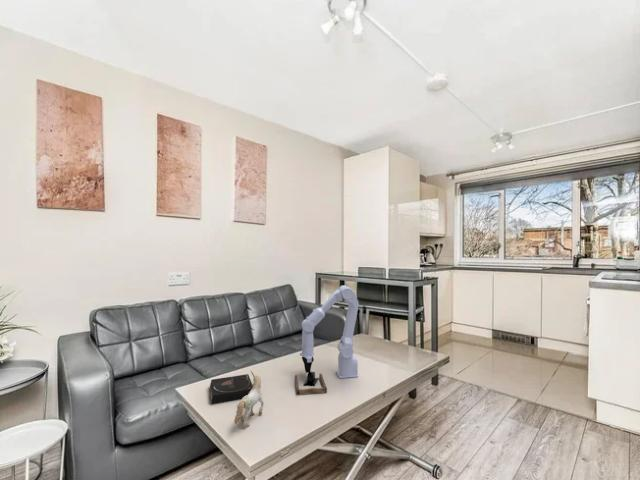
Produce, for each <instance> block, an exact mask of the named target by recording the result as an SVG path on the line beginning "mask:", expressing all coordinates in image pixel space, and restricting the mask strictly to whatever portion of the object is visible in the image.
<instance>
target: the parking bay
mask: <svg viewBox="0 0 640 480" xmlns="http://www.w3.org/2000/svg"><path fill="white" fill-rule="evenodd" d="M318 378H319V381H320V384H321V387H312V388H311V387H309V388H300V385H299V381H298V380H299V379H298V375H297V374H295V375H294V385H295V390H296V396H304V395H319V394H327V393H328V387H327V385H326V383H325V380H324V376H323V374H322V373H319V377H318Z"/></svg>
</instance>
